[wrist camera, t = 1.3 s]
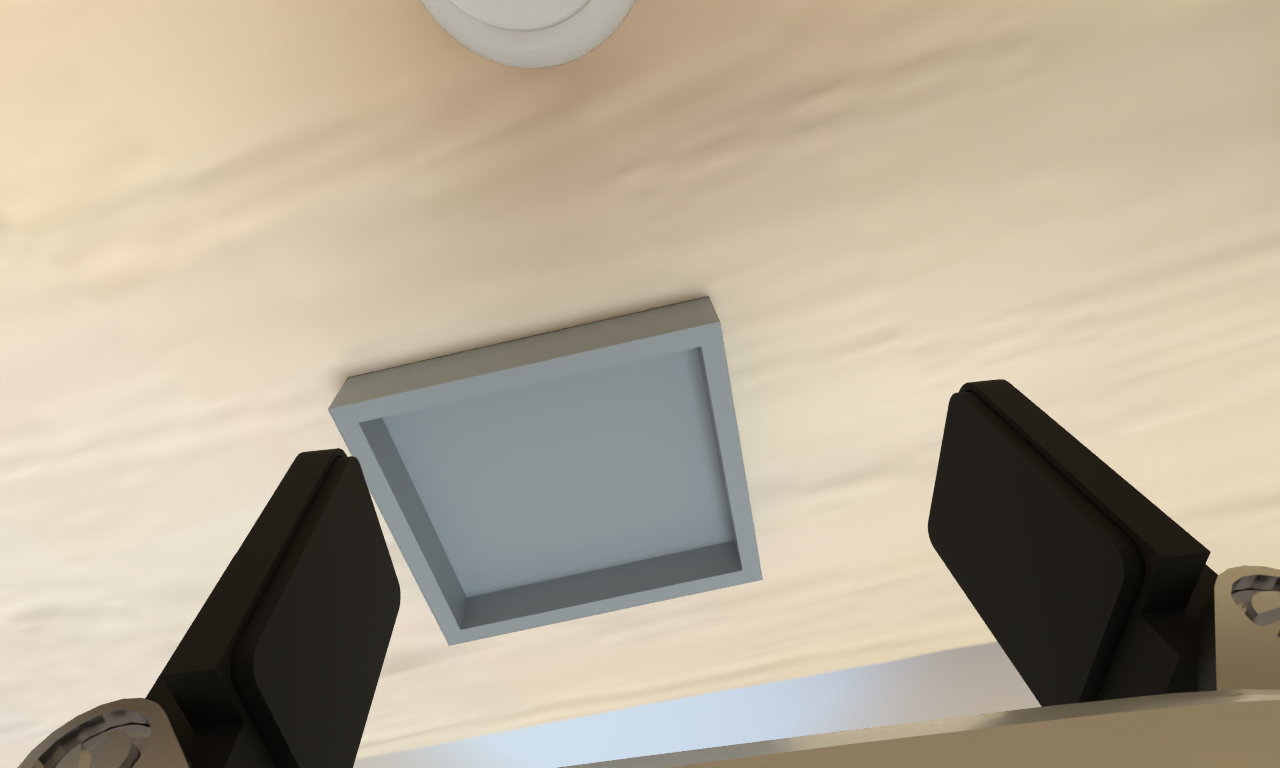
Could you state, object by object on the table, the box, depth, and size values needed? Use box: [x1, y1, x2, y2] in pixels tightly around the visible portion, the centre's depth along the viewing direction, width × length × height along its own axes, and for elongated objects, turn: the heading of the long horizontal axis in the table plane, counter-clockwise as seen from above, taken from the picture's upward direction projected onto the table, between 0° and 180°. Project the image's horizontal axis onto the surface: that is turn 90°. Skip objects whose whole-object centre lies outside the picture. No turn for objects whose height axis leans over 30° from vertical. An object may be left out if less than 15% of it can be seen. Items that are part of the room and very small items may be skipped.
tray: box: [328, 297, 763, 646], centre depth 35 cm, size 18×16×3 cm
